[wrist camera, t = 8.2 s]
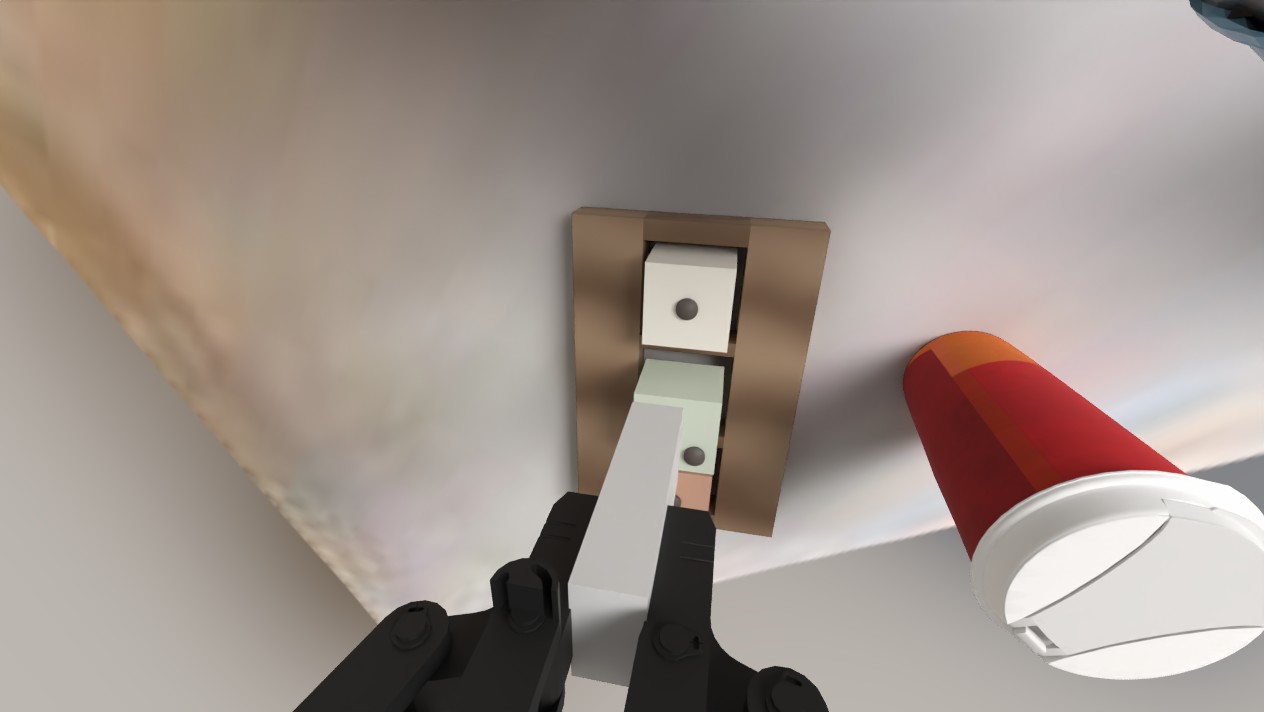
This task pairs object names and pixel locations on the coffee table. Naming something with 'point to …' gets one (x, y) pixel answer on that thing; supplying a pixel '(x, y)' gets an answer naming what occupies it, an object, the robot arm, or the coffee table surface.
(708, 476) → the tile three
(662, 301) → the tile one
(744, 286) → the tile board
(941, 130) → the coffee table surface
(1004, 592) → the coffee cup
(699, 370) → the tile two
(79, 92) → the coffee table surface
